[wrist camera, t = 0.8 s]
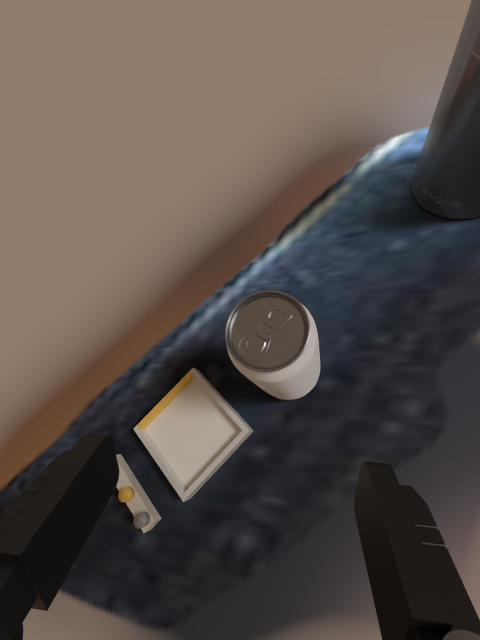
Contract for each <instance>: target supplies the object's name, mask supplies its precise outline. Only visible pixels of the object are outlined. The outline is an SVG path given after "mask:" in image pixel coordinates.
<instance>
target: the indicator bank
mask: <svg viewBox="0 0 480 640" xmlns="http://www.w3.org/2000/svg"><path fill="white" fill-rule="evenodd" d="M116 457H117V461H118V465H119V479H118V483H117V486H116V487H117V489H118V490H119V494H118V498H119V500H120V501H121V502H126V504H127V506H128V507H129V509H130V511H131V512H132V514H133V516H134V520H133V523H134V526H135V527H136V528H137V529H142V531H143V533H146V532H148V531H150V530H151V529H152V528H153V527H154V526H155V525H156V524H157V523H158V522H159V521H160V520H161V519H162V518H161V517H160V515H159V514H158V512H157V510H156V509H155V507H154V506H153V504H152V502H151V501H150V499H149V498H148V496H147V495H146V493H145V491H144V490H143V488H142V487H141V485H140V484H139V482H138V480H137V479H136V477H135V476H134V474H133V473H132V471H131V469H130V468H129V466H128V465H127V463H126V461H125V460H124V458H123V457H122V455H121V454H117V455H116Z"/></svg>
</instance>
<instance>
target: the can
mask: <svg viewBox="0 0 480 640" xmlns="http://www.w3.org/2000/svg"><path fill="white" fill-rule="evenodd" d="M225 340H226V345H227V351H228V354H229V357H230V359H231V361H232V362H233V364H234V365H235V367H236V368H237V369H238V370H239V371H240V372H241V373H242V374H243V375H244V376H246V377H247V378H248V379H249V380H251V381H252V382H253V383H255V384H256V385H257V386H259V387H260V388H261V389H263V390H264V391H265V392H267V393H268V394H270V395H272V396H274V397H276V398H279V399H283V400H292V399H297V398H300V397H302V396H304V395H306V394H307V393H308V392H310V391H311V390H312V388H313V387H314V386H315V384H316V383H317V380H318V378H319V374H320V354H319V342H318V333H317V328H316V325H315V322H314V320H313V318H312V316H311V314H310V313H309V311H308V310H307V309H306V308H305V307H304V306H303V305H302V304H301V303H300V302H299V301H297V300H296V299H295V298H294V297H292V296H290V295H288V294H286V293H283V292H280V291H274V290H266V291H260V292H256V293H253V294H251V295H249V296H247V297H246V298H244V299H243V300H241V301H240V302H239V303H238V304H237V305H236V306H235V307H234V309H233V310H232V311H231V313H230V315H229V317H228V320H227V323H226V327H225Z"/></svg>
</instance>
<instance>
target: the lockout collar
mask: <svg viewBox="0 0 480 640" xmlns="http://www.w3.org/2000/svg"><path fill="white" fill-rule="evenodd" d="M134 431H135V432H136V434H137V435H138V437H139V438H140V439H141V441H142V442H143V444H144V445H145V447H146V448H147V450H148V451H149V453H150V454H151V455H152V457H153V458H154V460H155V461H156V463H157V464H158V466H159V467H160V469H161V470H162V472H163V473H164V474H165V476H166V477H167V479H168V480H169V482H170V483H171V485H172V486H173V488H174V489H175V490H176V492H177V493H178V495H179V496H180V498H181V499H182V501H183V502H184V501H187V500H189V499H191V497H192V496H193V495H194V494H195V493H196V492H197V491H198V490H199V489H200V488H201V487H202V486H203V485H204V484H205V482H206V481H207V480H208V479H209V478H210V477H211V476H212V475H213V474H214V473H215V472H216V471H217V470H218V468H219V467H220V466H221V465H222V464H223V463H224V462H225V461H226V460H227V459H228V458H229V457H230V456H231V455H232V453H233V452H234V451H235V450H236V449H237V448H238V447H239V446H240V445H241V444H242V443H243V442H244V441H245V439H246V438H247V437H248V436H249V435H250V434H251V433H252V432H253V430H252V429H251V427H250V426H249V425H248V424H247V423H246V422H245V421H244V420H243V419H242V418H241V416H240V415H239V414H238V413H237V412H236V411H235V410H234V409H233V408H232V407H231V405H230V404H229V403H228V402H227V401H226V400H225V399H224V398H223V397H222V395H221V394H220V393H219V392H218V391H217V390H216V389H215V388H214V387H213V386H212V384H211V383H210V382H209V381H208V380H207V379H206V378H205V377H204V376H203V375H202V373H201V372H200V371H199V370H197V369H195V368H192V369H191V370H190V371H189V372H188V373H187V374H186V375H185V376H184V377H183V378H182V379H181V380H180V381H179V383H178V384H177V385H176V386H175V387H174V388H173V389H172V390H171V391H170V392H169V393H168V394H167V395H166V396H165V397H164V398H163V399H162V400H161V401H160V402H159V403H158V404H157V405H156V406H155V407H154V408H153V409H152V410H151V411H150V412H149V413H148V414H147V415H146V416H145V417H144V418H143V419H142V421H141V422H140V423H139V424H138V425H137V426H136V427H135V428H134Z"/></svg>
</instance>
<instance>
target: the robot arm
mask: <svg viewBox="0 0 480 640" xmlns="http://www.w3.org/2000/svg"><path fill="white" fill-rule="evenodd" d="M412 192H413V196H414V198H415V199H416V201H417V202H418V203H419V204H420V205H421V206H422V207H423V208H424V209H426V210H427V211H429V212H431V213H433V214H435V215H438V216H441V217H445V218H450V219H471V218H476V217H480V0H472V1H471V4H470V7H469V10H468V13H467V16H466V19H465V22H464V26H463V29H462V32H461V35H460V38H459V41H458V44H457V47H456V50H455V53H454V56H453V59H452V62H451V65H450V68H449V71H448V74H447V77H446V80H445V83H444V86H443V89H442V92H441V95H440V98H439V101H438V104H437V107H436V110H435V113H434V116H433V119H432V122H431V125H430V128H429V131H428V134H427V137H426V140H425V143H424V146H423V149H422V152H421V155H420V158H419V161H418V164H417V167H416V170H415V173H414V176H413V180H412ZM118 479H119V465H118V461H117V457H116V452H115V448H114V444H113V440H112V438H111V437H110V436H101V435H90V434H88V435H85V436H84V437H83V438H82V439H81V440H80V441H79V443H78V444H77V445H76V446H75V447H74V449H73V450H66V451H65V452H64V453H62V454H61V455H60V456H58V457H57V458H55V459H54V460H53V461H51V462H50V463H49V465H48V466H47V467H46V468H45V469H44V470H43V472H42V473H41V474H40V475H39V476H38V479H37V480H36V481H34V482H33V483H32V485H31V486H30V487H29V488H28V489H27V492H26V494H23V495H22V496H21V498H20V499H19V500H18V501H17V502H16V503H15V505H14V506H13V507H12V508H11V509H10V511H9V512H8V513H7V514H6V515H5V516H4V518H3V519H2V520H1V521H0V640H23V624H22V623H23V621H24V619H25V618H26V616H27V614H28V613H29V611H30V609H31V608H34V609H39V610H45V611H47V610H48V608H49V607H50V605H51V603H52V601H53V599H54V598H55V596H56V594H57V592H58V590H59V589H60V587H61V585H62V583H63V581H64V580H65V578H66V576H67V574H68V572H69V571H70V569H71V567H72V565H73V564H74V562H75V560H76V558H77V556H78V555H79V553H80V551H81V549H82V547H83V546H84V544H85V542H86V540H87V538H88V537H89V535H90V533H91V531H92V530H93V528H94V526H95V524H96V522H97V521H98V519H99V517H100V515H101V513H102V512H103V510H104V508H105V506H106V504H107V503H108V501H109V499H110V497H111V495H112V494H113V492H114V490H115V488H116V486H117V483H118ZM354 505H355V516H356V521H357V526H358V530H359V535H360V539H361V544H362V549H363V553H364V558H365V562H366V567H367V572H368V576H369V581H370V585H371V590H372V594H373V599H374V604H375V608H376V613H377V617H378V621H379V626H380V630H381V636H382V640H480V620H479V618H478V616H477V614H476V612H475V609H474V607H473V605H472V602H471V600H470V598H469V596H468V594H467V591H466V589H465V587H464V585H463V583H462V580H461V578H460V576H459V574H458V572H457V569H456V567H455V565H454V563H453V560H452V558H451V556H450V554H449V552H448V550H447V548H445V543H444V541H443V538H442V536H441V534H440V532H439V530H437V527H436V526H437V525H436V523H435V521H434V519H433V516H432V514H431V512H430V510H429V508H428V505H427V504H426V503H425V501H424V500H423V499H422V498H421V497H420V496H419V495H418V494H417V492H416V491H415V490H414V489H413V488H412V486H404V485H399V483H398V481H397V478H396V475H395V473H394V470H393V468H392V466H391V465H390V464H384V463H373V462H362V464H361V468H360V473H359V477H358V482H357V487H356V492H355V500H354Z"/></svg>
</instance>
